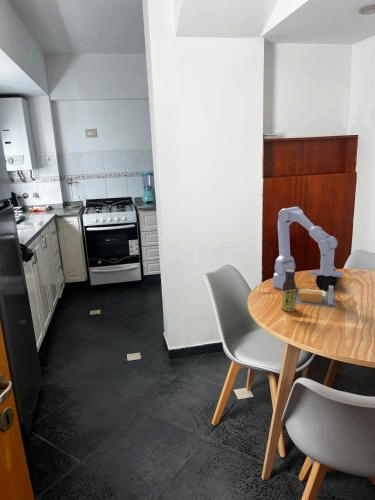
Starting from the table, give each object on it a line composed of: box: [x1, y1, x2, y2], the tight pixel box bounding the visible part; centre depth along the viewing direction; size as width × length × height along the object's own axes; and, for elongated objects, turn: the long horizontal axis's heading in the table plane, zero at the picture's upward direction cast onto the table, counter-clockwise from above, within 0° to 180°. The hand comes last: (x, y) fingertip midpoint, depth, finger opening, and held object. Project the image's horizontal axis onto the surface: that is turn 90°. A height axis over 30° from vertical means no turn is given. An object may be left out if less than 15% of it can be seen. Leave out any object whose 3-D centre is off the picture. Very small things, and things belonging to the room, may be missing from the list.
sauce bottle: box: [280, 269, 297, 313], centre depth 165 cm, size 6×6×20 cm
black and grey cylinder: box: [315, 266, 339, 291], centre depth 202 cm, size 10×34×10 cm, turn 152°
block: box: [300, 290, 322, 303], centre depth 175 cm, size 10×4×4 cm, turn 69°
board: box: [296, 288, 337, 308], centre depth 179 cm, size 18×20×2 cm
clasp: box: [327, 285, 334, 305], centre depth 172 cm, size 2×9×7 cm, turn 159°
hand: (325, 290), depth 172 cm, fingers closed
